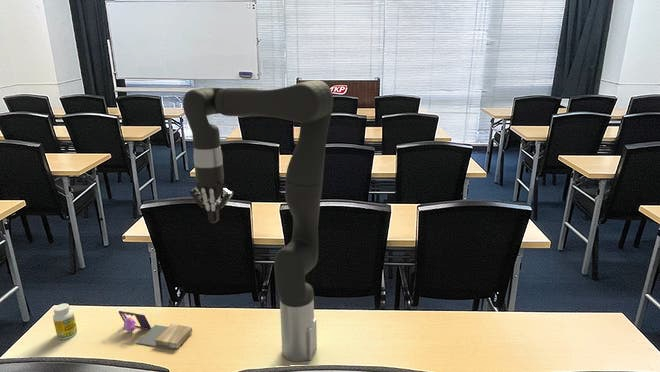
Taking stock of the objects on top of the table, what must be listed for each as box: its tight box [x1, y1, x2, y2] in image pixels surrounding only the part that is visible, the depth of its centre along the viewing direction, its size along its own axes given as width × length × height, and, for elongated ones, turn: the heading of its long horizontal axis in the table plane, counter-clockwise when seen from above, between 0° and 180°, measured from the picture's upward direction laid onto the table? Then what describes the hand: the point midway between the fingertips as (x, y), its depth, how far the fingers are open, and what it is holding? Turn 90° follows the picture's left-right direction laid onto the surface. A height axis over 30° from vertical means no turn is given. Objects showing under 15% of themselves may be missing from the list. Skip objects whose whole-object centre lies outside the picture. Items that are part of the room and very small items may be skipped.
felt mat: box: [136, 324, 175, 351], centre depth 134 cm, size 12×9×1 cm
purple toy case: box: [118, 310, 152, 337], centre depth 136 cm, size 7×5×9 cm
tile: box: [155, 323, 193, 349], centre depth 133 cm, size 2×8×7 cm
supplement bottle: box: [52, 303, 78, 340], centre depth 135 cm, size 5×5×10 cm
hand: (214, 221), depth 128 cm, fingers closed
